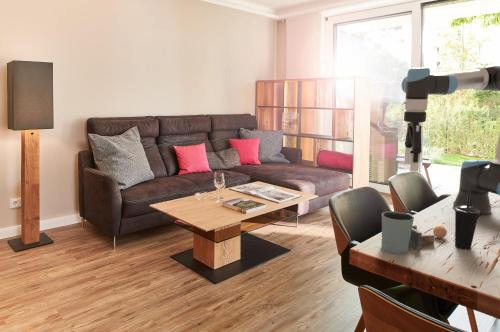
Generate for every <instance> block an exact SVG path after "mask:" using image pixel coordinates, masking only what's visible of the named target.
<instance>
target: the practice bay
mask: <svg viewBox="0 0 500 332" xmlns="http://www.w3.org/2000/svg"><path fill="white" fill-rule="evenodd" d="M435 238H436V236H435V235H434V233H433V234H432V233H431V234H423V233H422V232H421V231H419V230H418V226H417V224H413V225H412V230H411V236H410V240H409V246H410V247H411V248H413V249H415V250H417V251H420V250H421V248H422V246H423V247H424V246H425V247H426V246H434V245H435Z"/></svg>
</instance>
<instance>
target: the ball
mask: <svg viewBox="0 0 500 332" xmlns="http://www.w3.org/2000/svg"><path fill="white" fill-rule="evenodd" d="M432 231H433V232H432V233H433V235H435V238H438V239H443V238H446V236H447V234H448V231H447V229H446V228H445V227H444V226H443V225H436V226H435V227H434V228H433V230H432Z"/></svg>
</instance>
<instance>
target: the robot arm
mask: <svg viewBox="0 0 500 332" xmlns="http://www.w3.org/2000/svg"><path fill="white" fill-rule="evenodd" d="M406 75H407V76H405V77H404V78H403V79H402V81H401V90H402V91H403V93H404V94H405V101H404V102H403V105H404V110H406V111H404V114H403V121H404V122H405V123H407V129H406V135H405V140H404V145H405V147H404V148H405V149H404V162H403V164H404V165H409V166H410V167H409V171H410V172H419V167H420V157H421V156H420V154H421V153H422V125H420V123H425V122H426V121H427V112H426V111H427V110H428V101H429V99H428V97H429V95H432V96H433V95H434V96H435V95H436V96H437V95H438V96H439V95H442V96H446V95H447V96H448V95H452V94H454V93H455V92H457V91H462V90H470V89H471V90H472V89H473V90H475V91H492V92H493V91H495V92H500V63H496V64H492V65H487V66H481V67H479V66H477V67H476V68H474V69H471V70H461V71H450V72H449V71H448V72H438V73H431V70H430V68H428V67H411V68H409V69H408V70H407V74H406ZM459 175H460V176H459V177H460V178H459V189H458V190H459V191H458V193H457V194H456V195H457V196H456V197H455V200H454V201H453V203H452V208H453V209H454V210H455V207H457V206H461V205H467V197H468V191H470V200H469V206H472V207H475V208H476V209H479V210H480V213H479V215H489V214H491V212H492V206H491V202H490V197H489V193H491V194H495V195H498V196H500V131H499V134H498V139H497V145H496V150H495V156H494V158H493V159H466V160H463V162H462V164H461V167H460V174H459ZM479 215H478V216H479Z"/></svg>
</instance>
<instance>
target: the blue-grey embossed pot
mask: <svg viewBox="0 0 500 332" xmlns="http://www.w3.org/2000/svg"><path fill="white" fill-rule="evenodd" d="M414 220H415V218H414V216H413V215H412V214H410V213H406V212H403V211H402V212H401V211H394V210H393V211H392V210H391V211H384V212H382V213H381V249H382V250H383V251H384V252H386V253H389V254H393V255H403V254H407V253H408V251H409V246H410V245H409V240H410V236H411V230H412V225H414Z"/></svg>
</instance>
